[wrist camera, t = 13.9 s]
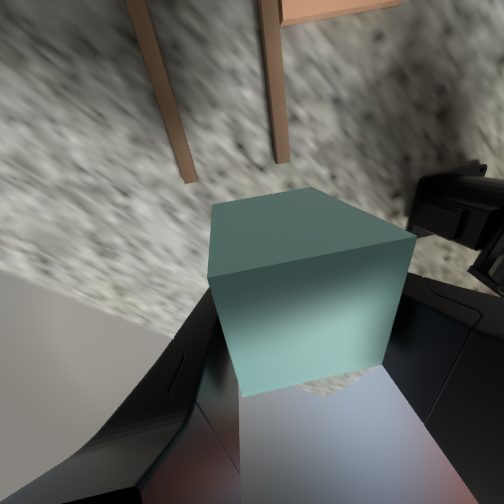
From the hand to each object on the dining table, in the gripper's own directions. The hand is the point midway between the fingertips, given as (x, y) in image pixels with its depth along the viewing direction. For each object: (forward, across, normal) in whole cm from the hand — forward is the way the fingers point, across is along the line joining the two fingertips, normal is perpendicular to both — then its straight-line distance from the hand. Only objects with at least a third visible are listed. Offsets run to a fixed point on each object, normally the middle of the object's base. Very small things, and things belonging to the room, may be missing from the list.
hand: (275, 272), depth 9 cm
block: (+1, 0, -1) cm, 1 cm away
